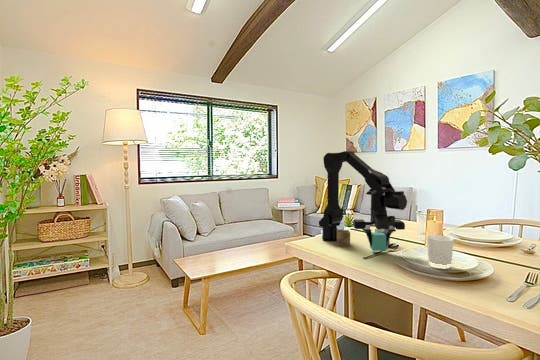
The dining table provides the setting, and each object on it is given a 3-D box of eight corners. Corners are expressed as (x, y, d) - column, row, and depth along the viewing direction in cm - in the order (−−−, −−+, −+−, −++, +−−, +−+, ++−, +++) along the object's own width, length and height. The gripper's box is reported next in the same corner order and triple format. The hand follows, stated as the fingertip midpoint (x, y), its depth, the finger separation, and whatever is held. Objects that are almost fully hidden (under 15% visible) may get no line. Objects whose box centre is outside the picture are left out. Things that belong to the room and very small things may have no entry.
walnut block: (338, 246, 132) (338, 232, 132) (336, 243, 137) (336, 230, 137) (350, 246, 132) (350, 232, 132) (348, 243, 137) (348, 230, 136)
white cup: (443, 272, 102) (444, 242, 101) (421, 264, 109) (422, 236, 108) (457, 268, 105) (458, 238, 105) (436, 261, 112) (436, 234, 112)
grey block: (377, 245, 134) (377, 231, 133) (374, 242, 139) (374, 229, 138) (389, 245, 133) (389, 231, 133) (386, 242, 138) (386, 229, 138)
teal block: (372, 250, 121) (373, 235, 121) (369, 247, 126) (370, 232, 126) (386, 251, 121) (386, 235, 120) (382, 247, 126) (382, 232, 125)
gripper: (358, 209, 115) (357, 251, 116) (410, 210, 113) (409, 252, 115) (352, 205, 126) (352, 243, 127) (400, 205, 125) (399, 244, 126)
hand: (377, 245), depth 123 cm, fingers closed on teal block, 5 cm apart
